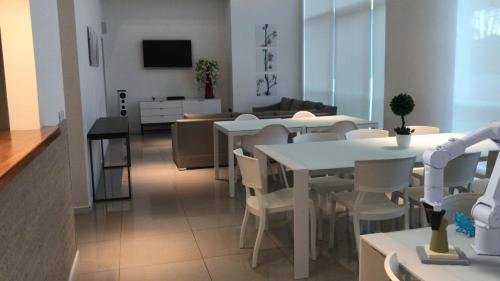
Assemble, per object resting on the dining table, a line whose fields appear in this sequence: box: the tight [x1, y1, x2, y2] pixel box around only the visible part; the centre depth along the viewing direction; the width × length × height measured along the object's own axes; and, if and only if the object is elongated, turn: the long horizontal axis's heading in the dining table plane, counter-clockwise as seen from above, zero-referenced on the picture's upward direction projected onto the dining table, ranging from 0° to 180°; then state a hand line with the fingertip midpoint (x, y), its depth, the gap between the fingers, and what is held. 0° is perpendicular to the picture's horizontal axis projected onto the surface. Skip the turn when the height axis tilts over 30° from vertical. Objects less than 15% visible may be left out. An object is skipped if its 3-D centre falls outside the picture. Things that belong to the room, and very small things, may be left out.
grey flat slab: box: [415, 244, 469, 266], centre depth 157 cm, size 14×12×2 cm
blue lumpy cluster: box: [452, 211, 476, 237], centre depth 179 cm, size 11×6×10 cm
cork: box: [429, 216, 449, 253], centre depth 156 cm, size 6×6×11 cm
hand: (432, 226), depth 156 cm, fingers open, 7 cm apart
